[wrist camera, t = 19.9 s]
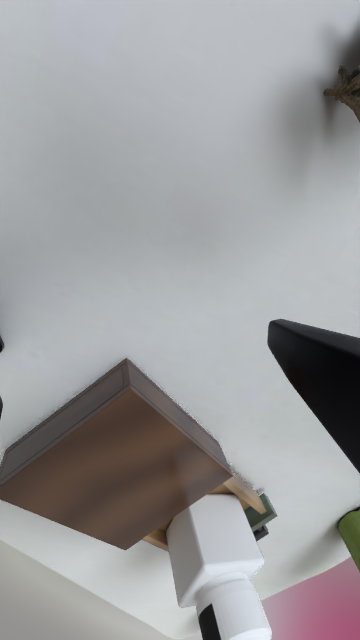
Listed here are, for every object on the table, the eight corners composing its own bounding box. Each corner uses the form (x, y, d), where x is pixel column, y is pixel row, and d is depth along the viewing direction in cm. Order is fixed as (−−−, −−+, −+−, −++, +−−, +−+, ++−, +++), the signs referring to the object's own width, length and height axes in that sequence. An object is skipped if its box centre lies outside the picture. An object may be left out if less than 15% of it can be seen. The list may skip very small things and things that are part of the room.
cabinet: (218, 442, 32) (233, 476, 28) (123, 510, 33) (125, 550, 29) (126, 357, 24) (130, 388, 20) (5, 449, 25) (-12, 495, 21)
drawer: (279, 506, 40) (289, 526, 38) (207, 554, 41) (213, 576, 39) (210, 445, 30) (219, 466, 28) (119, 510, 31) (120, 535, 29)
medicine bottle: (214, 528, 36) (259, 668, 26) (164, 531, 34) (191, 687, 23) (237, 492, 34) (296, 630, 23) (184, 492, 31) (224, 647, 21)
